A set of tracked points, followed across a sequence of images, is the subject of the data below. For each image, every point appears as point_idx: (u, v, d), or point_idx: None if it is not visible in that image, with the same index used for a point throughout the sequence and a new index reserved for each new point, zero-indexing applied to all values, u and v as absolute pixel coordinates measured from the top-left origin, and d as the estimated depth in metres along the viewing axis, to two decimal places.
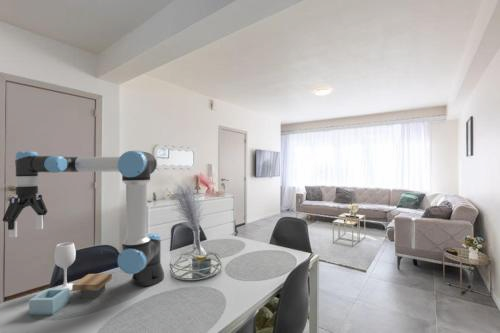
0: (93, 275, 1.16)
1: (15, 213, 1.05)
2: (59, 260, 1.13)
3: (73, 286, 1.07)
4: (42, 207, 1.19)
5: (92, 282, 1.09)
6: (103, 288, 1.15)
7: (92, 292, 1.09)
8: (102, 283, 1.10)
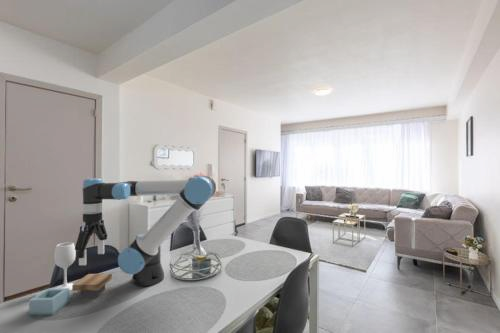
0: (93, 275, 1.16)
1: (84, 241, 1.06)
2: (59, 260, 1.13)
3: (73, 286, 1.07)
4: (103, 232, 1.20)
5: (92, 282, 1.09)
6: (103, 288, 1.15)
7: (92, 292, 1.09)
8: (102, 283, 1.10)
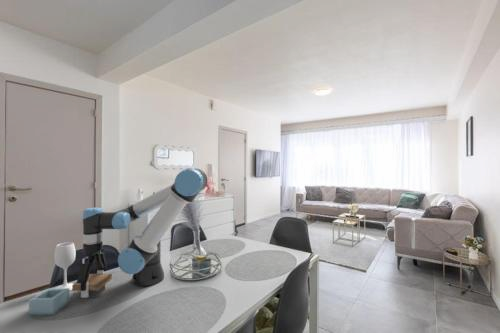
0: (93, 275, 1.16)
1: (86, 273, 1.07)
2: (59, 260, 1.13)
3: (73, 286, 1.07)
4: (103, 261, 1.20)
5: (92, 282, 1.09)
6: (103, 288, 1.15)
7: (92, 292, 1.09)
8: (102, 283, 1.10)
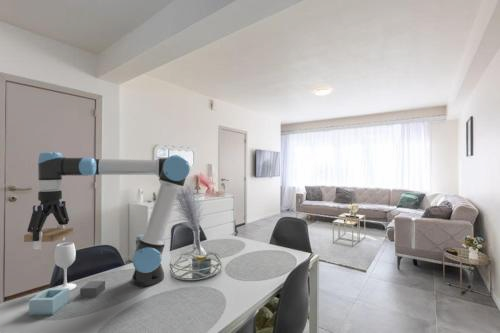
0: (51, 229, 1.04)
1: (40, 222, 0.95)
2: (59, 260, 1.13)
3: (25, 237, 0.95)
4: (64, 215, 1.08)
5: (47, 234, 0.97)
6: (103, 288, 1.15)
7: (92, 292, 1.09)
8: (59, 235, 0.98)
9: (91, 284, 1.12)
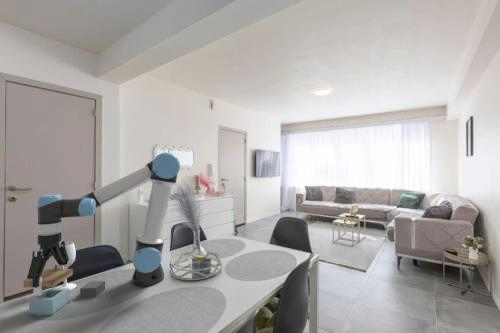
0: (51, 270, 1.04)
1: (39, 268, 0.95)
2: None
3: (24, 282, 0.95)
4: (64, 255, 1.07)
5: (47, 278, 0.97)
6: (103, 288, 1.15)
7: (92, 292, 1.09)
8: (59, 279, 0.98)
9: (91, 284, 1.12)
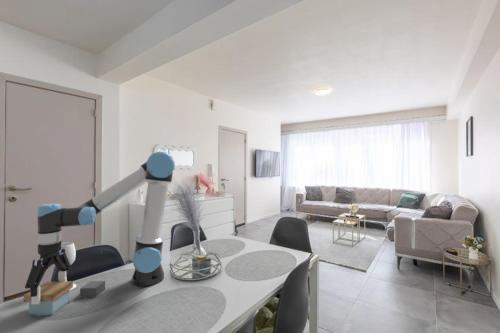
0: (51, 283, 1.04)
1: (38, 277, 0.94)
2: None
3: (25, 296, 0.95)
4: (65, 262, 1.08)
5: (47, 292, 0.97)
6: (103, 288, 1.15)
7: (92, 292, 1.09)
8: (59, 293, 0.98)
9: (91, 284, 1.12)
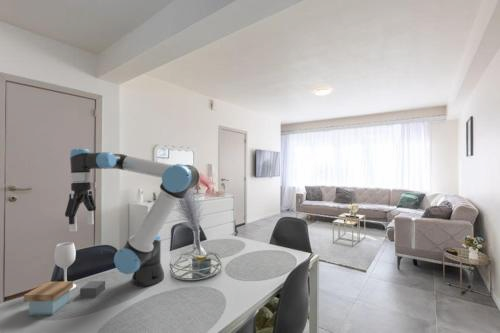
0: (51, 283, 1.04)
1: (74, 208, 1.09)
2: (59, 260, 1.13)
3: (25, 296, 0.95)
4: (92, 203, 1.23)
5: (47, 292, 0.97)
6: (103, 288, 1.15)
7: (92, 292, 1.09)
8: (59, 293, 0.98)
9: (91, 284, 1.12)
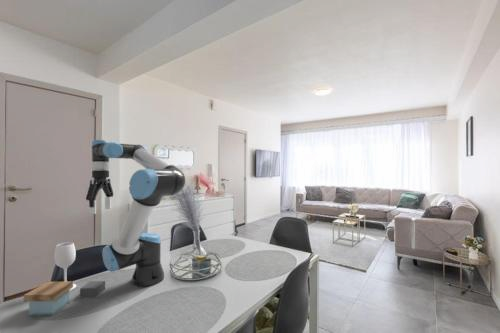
0: (51, 283, 1.04)
1: (94, 193, 1.21)
2: (59, 260, 1.13)
3: (25, 296, 0.95)
4: (110, 190, 1.35)
5: (47, 292, 0.97)
6: (103, 288, 1.15)
7: (92, 292, 1.09)
8: (59, 293, 0.98)
9: (91, 284, 1.12)
